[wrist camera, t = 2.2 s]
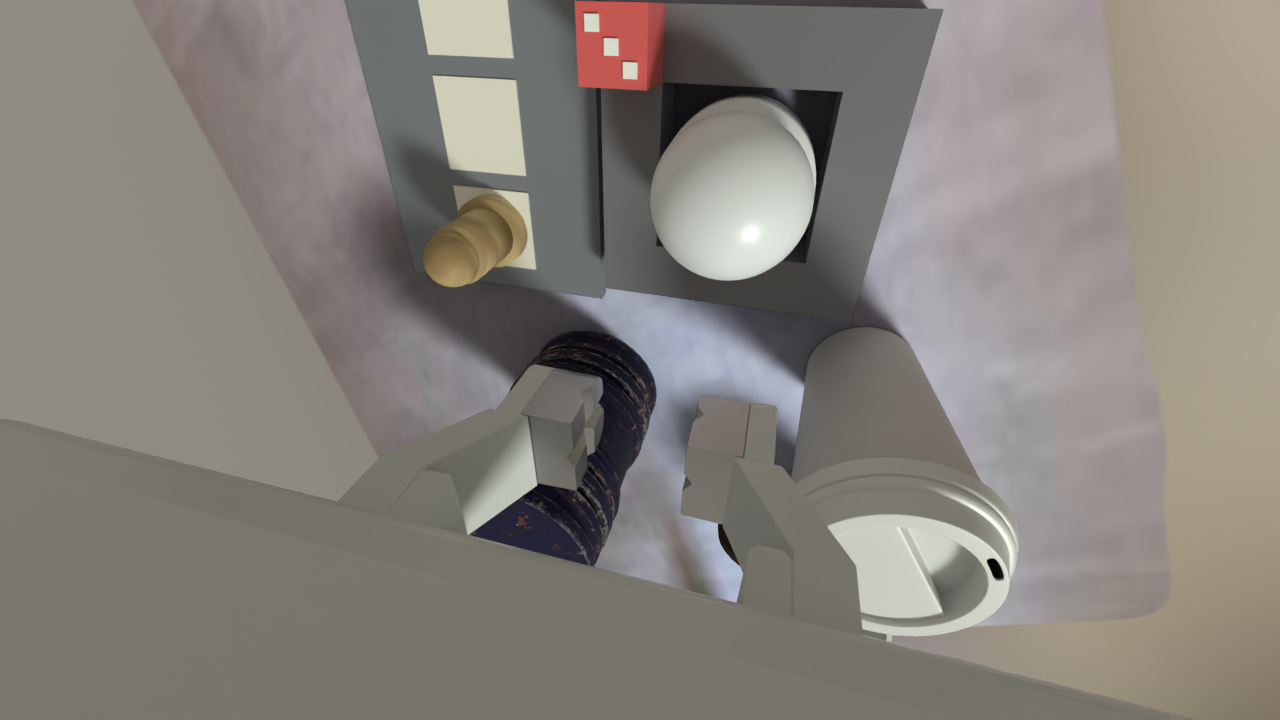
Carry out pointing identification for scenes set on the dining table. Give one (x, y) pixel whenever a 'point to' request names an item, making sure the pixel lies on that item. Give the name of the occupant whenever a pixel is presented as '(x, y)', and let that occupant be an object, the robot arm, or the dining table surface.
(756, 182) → the white rounded piece
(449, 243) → the pawn
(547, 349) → the dark blue ribbed cylinder
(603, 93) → the base
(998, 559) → the coffee cup
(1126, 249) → the dining table surface
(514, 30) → the game board
